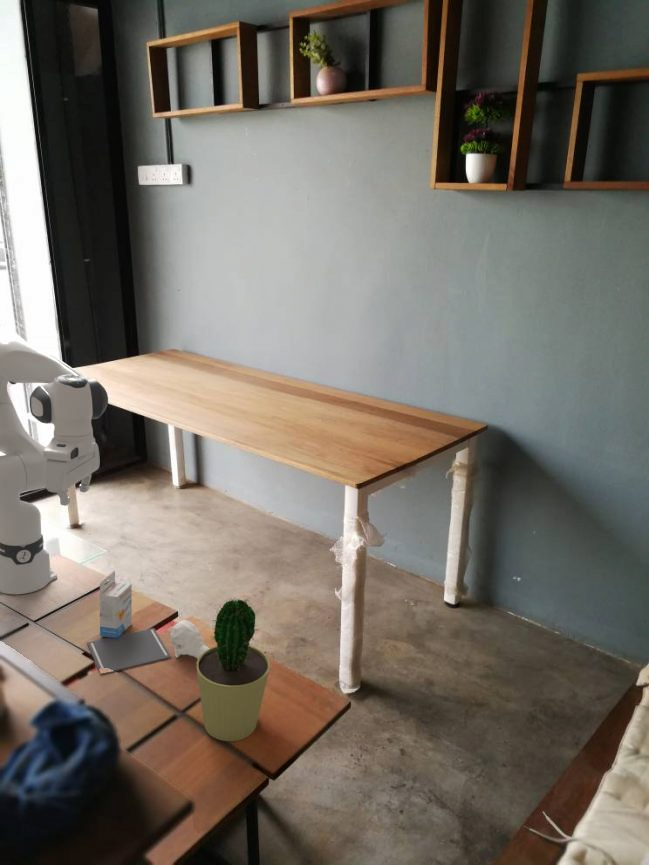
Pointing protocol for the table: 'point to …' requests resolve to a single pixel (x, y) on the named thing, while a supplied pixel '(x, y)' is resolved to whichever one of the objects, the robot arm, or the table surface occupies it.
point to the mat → (128, 650)
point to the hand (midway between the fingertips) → (75, 497)
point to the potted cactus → (232, 675)
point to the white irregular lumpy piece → (187, 640)
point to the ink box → (115, 607)
